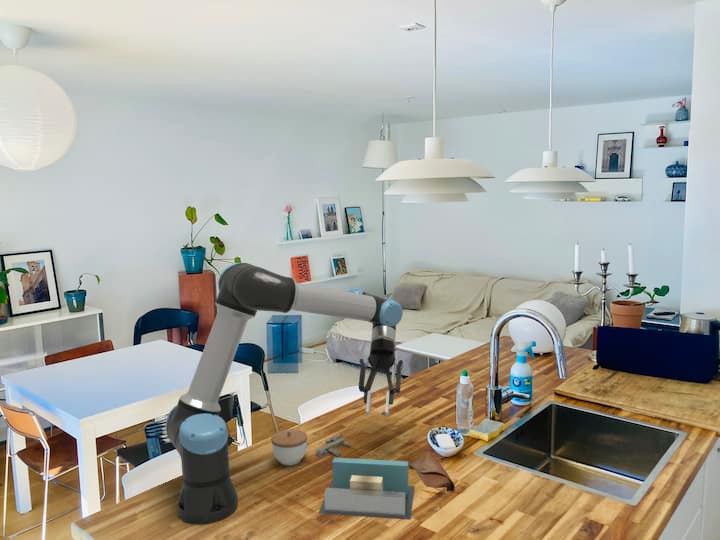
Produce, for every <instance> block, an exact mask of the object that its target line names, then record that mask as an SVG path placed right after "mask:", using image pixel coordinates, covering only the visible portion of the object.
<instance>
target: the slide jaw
mask: <svg viewBox="0 0 720 540" xmlns="http://www.w3.org/2000/svg"><path fill="white" fill-rule="evenodd" d="M331 463H332V467H331V468H332V481H333V488H340V489H350V479H351V476H352V475H357V476H375V477H383V491H390V492H405V495H408V491H409V486H410V484H409V483H410V482H409V476H410V475H409V466H408V465H409V461H405V460H404V461H403V460H387V459H369V458H368V459H367V458H350V457H349V458H347V457H346V458H345V457H334V458H333V460H332V461H331Z"/></svg>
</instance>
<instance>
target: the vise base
mask: <svg viewBox="0 0 720 540" xmlns="http://www.w3.org/2000/svg"><path fill="white" fill-rule="evenodd" d="M415 487H416V486H415V485H409V491H408V495H405V492H390V491H373V490H357V489H340V488H333V480H332V481H331V482H330V483H329V487H326V488H325V491H324V493H323V495H324V498H323V501H322V504H321V506H320V508H319V510H318V514H323V515H337V516H349V517H351V516H352V517H367V518H379V519H393V520H411V519H412V513H413V511H412V510H413V504H414V496H415V489H416V488H415Z"/></svg>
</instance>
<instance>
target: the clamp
mask: <svg viewBox="0 0 720 540" xmlns="http://www.w3.org/2000/svg"><path fill="white" fill-rule="evenodd" d="M343 435H344V434H343V433H342V432H341V433H339V434H338V435H335V436H330V438H329V439H328V440H325V441H324V442H325V445H324V446H322V447H319V448H318V449H316V450H315V456H316V457H319V458H320V457H321V459H324V456H326V457H328V456H327V454H328V453H326V452H329V453H331V454H332V455H333V456H335V457H339V456H341V451H339V450H338V449H339V448H341V447H343V446H347V447H352V444H349V443H348V442H345V441H346V440H345V438H343ZM339 437H340V438H339ZM338 438H339V439H338ZM330 442H331V443H330ZM342 445H343V446H342ZM340 446H341V447H340ZM332 447H333V448H335V447H336V448H337V449H336V448H335V450H334V449H333V450H332V449H330V448H332ZM338 447H339V448H338Z"/></svg>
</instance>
